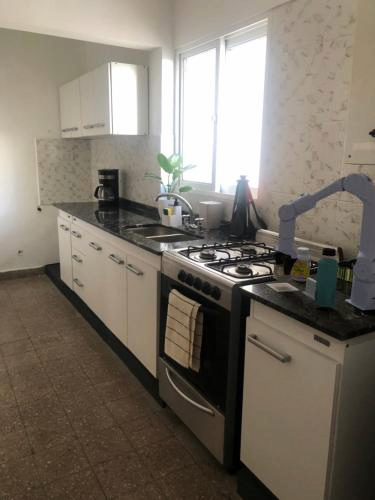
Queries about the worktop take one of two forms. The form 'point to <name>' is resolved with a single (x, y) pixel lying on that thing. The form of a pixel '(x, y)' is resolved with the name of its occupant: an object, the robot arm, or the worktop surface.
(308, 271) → the supplement bottle
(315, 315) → the worktop surface
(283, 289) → the tile
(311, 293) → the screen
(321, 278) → the beverage bottle
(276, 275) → the letter cube
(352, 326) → the worktop surface
